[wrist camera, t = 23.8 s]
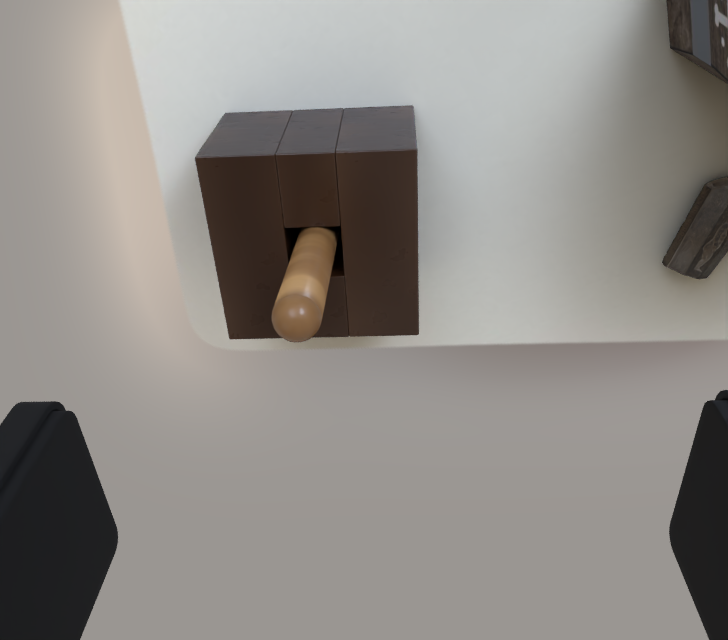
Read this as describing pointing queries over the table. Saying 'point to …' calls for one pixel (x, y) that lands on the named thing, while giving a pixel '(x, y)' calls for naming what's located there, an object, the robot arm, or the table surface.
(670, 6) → the mug
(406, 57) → the table surface
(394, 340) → the table surface
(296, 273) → the stick
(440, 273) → the table surface
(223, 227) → the holder
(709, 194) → the block
